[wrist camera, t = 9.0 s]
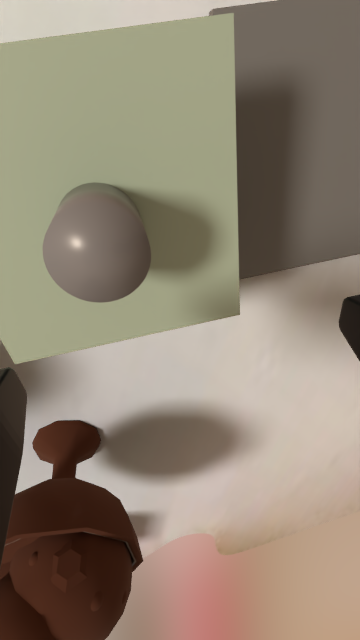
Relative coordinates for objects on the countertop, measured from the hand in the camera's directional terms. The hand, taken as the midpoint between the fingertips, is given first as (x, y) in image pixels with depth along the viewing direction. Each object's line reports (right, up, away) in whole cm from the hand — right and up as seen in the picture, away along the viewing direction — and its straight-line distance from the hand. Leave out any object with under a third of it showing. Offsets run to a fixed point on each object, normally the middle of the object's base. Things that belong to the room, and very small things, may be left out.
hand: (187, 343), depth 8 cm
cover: (-3, +5, +4) cm, 7 cm away
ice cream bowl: (-10, -10, +19) cm, 23 cm away
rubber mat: (+8, +10, +9) cm, 16 cm away
